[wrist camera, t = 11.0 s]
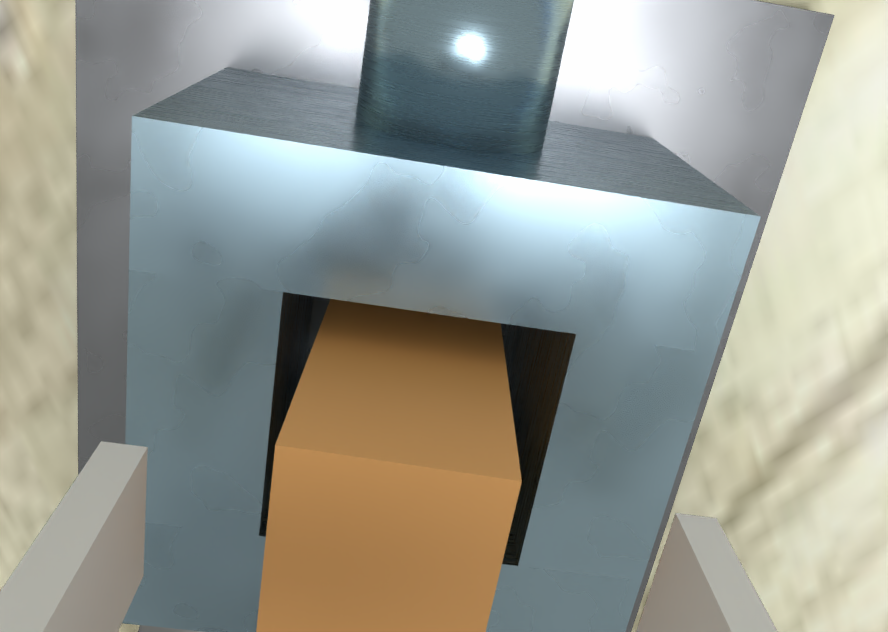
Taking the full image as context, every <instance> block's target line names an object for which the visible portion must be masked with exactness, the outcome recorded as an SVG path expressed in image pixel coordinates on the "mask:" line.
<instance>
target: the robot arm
mask: <svg viewBox="0 0 888 632" xmlns="http://www.w3.org/2000/svg"><path fill="white" fill-rule="evenodd" d="M147 449H148V447H143V446H135V445H127V444H119V443H111V442H103V441H101V442H100V444H99V445H98V447H97V448H96V450H95V451H94V453H93V454H92V456H91V457H90V459H89V460H88V462H87V463H86V465H85V466H84V468H83V469H82V471H81V472H80V474H79V475H78V476H77V478H76V479H75V481H74V482H73V484H72V485H71V487H70V488H69V490H68V491H67V493H66V494H65V496H64V497H63V499H62V500H61V502H60V503H59V505H58V506H57V508H56V509H55V511H54V512H53V514H52V515H51V517H50V518H49V520H48V521H47V523H46V524H45V525H44V527H43V528H42V530H41V531H40V533H39V534H38V536H37V537H36V539H35V540H34V542H33V543H32V545H31V546H30V548H29V549H28V551H27V552H26V554H25V555H24V557H23V558H22V560H21V561H20V563H19V564H18V566H17V567H16V569H15V570H14V572H13V573H12V575H11V576H10V577H9V579H8V580H7V582H6V583H5V585H4V586H3V588H2V589H1V591H0V632H118V631H119V628H120V626H121V624H122V622H123V620H124V617H125V615H126V613H127V611H128V609H129V606H130V604H131V602H132V600H133V598H134V595H135V593H136V591H137V589H138V587H139V584H140V582H141V580H142V578H143V574H144V543H145V511H146V480H147ZM637 632H778V631H777V629H776V627H775V625H774V624H773V622H772V620H771V618H770V616H769V614H768V612H767V611H766V609H765V607H764V605H763V603H762V601H761V600H760V598H759V596H758V594H757V592H756V590H755V588H754V587H753V585H752V583H751V581H750V579H749V577H748V575H747V574H746V572H745V570H744V568H743V566H742V564H741V562H740V561H739V559H738V557H737V555H736V553H735V551H734V550H733V548H732V546H731V544H730V542H729V540H728V538H727V537H726V535H725V533H724V531H723V529H722V527H721V525H720V524H719V522H718V520H717V518H711V517H703V516H695V515H687V514H679V513H676V514H675V517H674V520H673V523H672V526H671V529H670V532H669V535H668V538H667V541H666V544H665V547H664V550H663V553H662V556H661V559H660V562H659V565H658V568H657V571H656V574H655V577H654V580H653V583H652V586H651V589H650V592H649V595H648V598H647V601H646V604H645V607H644V610H643V613H642V616H641V619H640V622H639V625H638V628H637Z"/></svg>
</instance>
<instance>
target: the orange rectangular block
mask: <svg viewBox="0 0 888 632" xmlns="http://www.w3.org/2000/svg"><path fill="white" fill-rule="evenodd" d="M521 483H522V479H521V471H520V464H519V456H518V449H517V442H516V434H515V427H514V419H513V412H512V404H511V397H510V390H509V382H508V375H507V367H506V360H505V353H504V345H503V338H502V330H501V323H496V322H489V321H482V320H475V319H468V318H461V317H454V316H447V315H440V314H433V313H426V312H419V311H412V310H405V309H398V308H391V307H384V306H377V305H370V304H363V303H356V302H349V301H342V300H335V299H330V302H329V304H328V307H327V310H326V312H325V315H324V317H323V320H322V323H321V325H320V328H319V331H318V333H317V336H316V339H315V341H314V344H313V346H312V349H311V352H310V354H309V357H308V360H307V362H306V365H305V368H304V370H303V373H302V375H301V378H300V381H299V383H298V386H297V389H296V391H295V394H294V397H293V399H292V402H291V404H290V407H289V410H288V412H287V415H286V418H285V420H284V423H283V426H282V428H281V431H280V433H279V436H278V439H277V441H276V444H275V452H274V462H273V471H272V481H271V491H270V501H269V511H268V521H267V530H266V540H265V550H264V560H263V570H262V580H261V590H260V599H259V609H258V619H257V629H256V632H486V628H487V624H488V620H489V616H490V611H491V607H492V603H493V599H494V595H495V591H496V587H497V582H498V578H499V574H500V570H501V566H502V562H503V558H504V553H505V549H506V545H507V541H508V537H509V533H510V529H511V524H512V520H513V516H514V512H515V508H516V504H517V499H518V495H519V491H520V487H521Z"/></svg>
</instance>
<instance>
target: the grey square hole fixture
mask: <svg viewBox="0 0 888 632" xmlns="http://www.w3.org/2000/svg"><path fill="white" fill-rule="evenodd" d="M833 18H834V15H832V14H826V13H821V12H815V11H810V10H805V9H799V8H794V7H788V6H783V5H777V4H772V3H767V2H761V1H756V0H76V153H77V325H78V475H79V474H80V472H81V471H82V469H83V468H84V466H85V465H86V463H87V462H88V460H89V459H90V457H91V456H92V454H93V453H94V451H95V450H96V448H97V447H98V445H99V444H100V442H101V441H103V442H111V443H119V444H127V445H135V446H143V447H148V449H147V480H146V511H145V543H144V574H143V578H142V580H141V582H140V584H139V587H138V589H137V591H136V593H135V595H134V598H133V600H132V602H131V604H130V606H129V609H128V611H127V613H126V615H125V617H124V620H123V622H122V623H126V624H135V625H140V627H139V631H138V632H256V629H257V619H258V609H259V599H260V590H261V580H262V570H263V560H264V550H265V540H266V530H267V521H268V511H269V501H270V491H271V481H272V471H273V462H274V452H275V444H276V441H277V439H278V436H279V433H280V431H281V428H282V426H283V423H284V420H285V418H286V415H287V412H288V410H289V407H290V404H291V402H292V399H293V397H294V394H295V391H296V389H297V386H298V383H299V381H300V378H301V375H302V373H303V370H304V368H305V365H306V362H307V360H308V357H309V354H310V352H311V349H312V346H313V344H314V341H315V339H316V336H317V333H318V331H319V328H320V325H321V323H322V320H323V317H324V315H325V312H326V310H327V307H328V304H329V302H330V299H335V300H342V301H349V302H356V303H363V304H370V305H377V306H384V307H391V308H398V309H405V310H412V311H419V312H426V313H433V314H440V315H447V316H454V317H461V318H468V319H475V320H482V321H489V322H496V323H501V330H502V338H503V345H504V353H505V360H506V367H507V375H508V382H509V390H510V397H511V404H512V412H513V419H514V427H515V434H516V442H517V449H518V456H519V464H520V471H521V479H522V483H521V487H520V491H519V495H518V499H517V504H516V508H515V512H514V516H513V520H512V524H511V529H510V533H509V537H508V541H507V545H506V549H505V553H504V558H503V562H502V566H501V570H500V574H499V578H498V582H497V587H496V591H495V595H494V599H493V603H492V607H491V611H490V616H489V620H488V624H487V628H486V632H631V630H632V627H633V624H634V621H635V618H636V615H637V612H638V609H639V606H640V603H641V600H642V597H643V594H644V591H645V588H646V585H647V582H648V579H649V576H650V573H651V570H652V567H653V564H654V561H655V558H656V555H657V551H658V548H659V545H660V542H661V539H662V536H663V533H664V530H665V527H666V524H667V521H668V518H669V515H670V512H671V509H672V506H673V503H674V500H675V497H676V494H677V491H678V488H679V485H680V482H681V479H682V476H683V473H684V470H685V467H686V464H687V461H688V458H689V455H690V452H691V448H692V445H693V442H694V439H695V436H696V433H697V430H698V427H699V424H700V421H701V418H702V415H703V412H704V409H705V406H706V403H707V400H708V397H709V394H710V391H711V388H712V385H713V382H714V379H715V376H716V373H717V370H718V367H719V364H720V361H721V358H722V355H723V352H724V349H725V345H726V342H727V339H728V336H729V333H730V330H731V327H732V324H733V321H734V318H735V315H736V312H737V309H738V306H739V303H740V300H741V297H742V294H743V291H744V288H745V285H746V282H747V279H748V276H749V273H750V270H751V267H752V264H753V261H754V258H755V255H756V252H757V249H758V246H759V242H760V239H761V236H762V233H763V230H764V227H765V224H766V221H767V218H768V215H769V212H770V209H771V206H772V203H773V200H774V197H775V194H776V191H777V188H778V185H779V182H780V179H781V176H782V173H783V170H784V167H785V164H786V161H787V158H788V155H789V152H790V149H791V146H792V143H793V139H794V136H795V133H796V130H797V127H798V124H799V121H800V118H801V115H802V112H803V109H804V106H805V103H806V100H807V97H808V94H809V91H810V88H811V85H812V82H813V79H814V76H815V73H816V70H817V67H818V64H819V61H820V58H821V55H822V52H823V49H824V46H825V43H826V40H827V36H828V33H829V30H830V27H831V24H832V21H833Z"/></svg>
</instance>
